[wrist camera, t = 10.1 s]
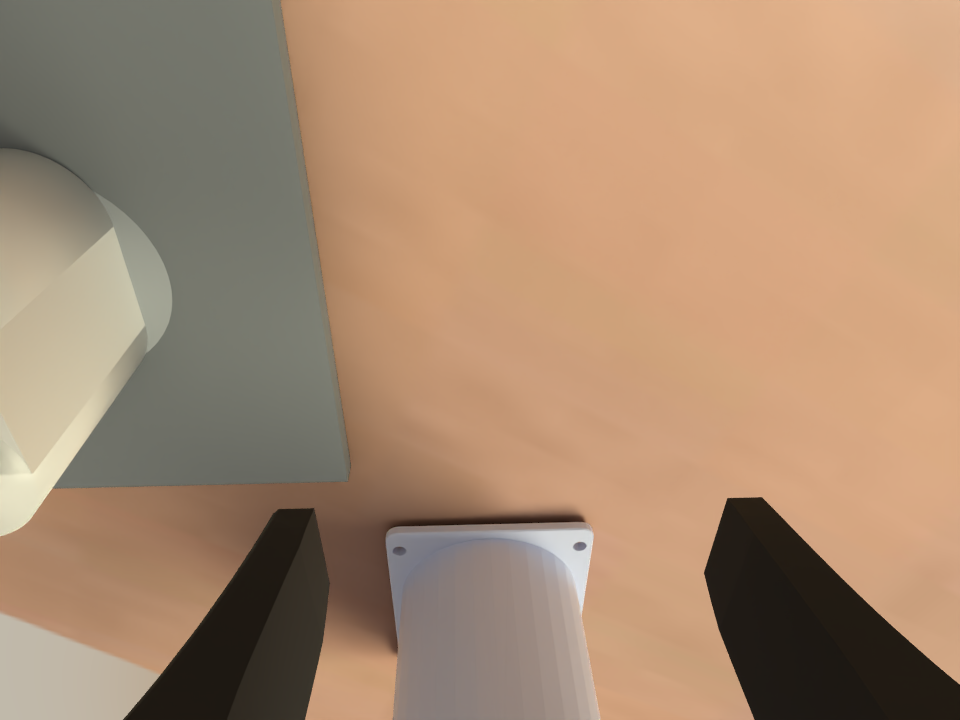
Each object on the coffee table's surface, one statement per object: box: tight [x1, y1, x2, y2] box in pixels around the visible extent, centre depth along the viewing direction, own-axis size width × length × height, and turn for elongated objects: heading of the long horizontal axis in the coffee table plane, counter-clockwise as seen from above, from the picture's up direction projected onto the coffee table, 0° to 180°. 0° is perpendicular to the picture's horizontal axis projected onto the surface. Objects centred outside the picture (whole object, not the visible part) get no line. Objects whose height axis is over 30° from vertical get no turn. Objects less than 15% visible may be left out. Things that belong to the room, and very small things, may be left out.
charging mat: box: [0, 0, 351, 489], centre depth 18 cm, size 16×14×1 cm
